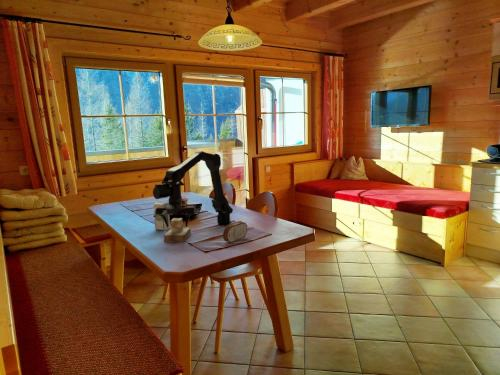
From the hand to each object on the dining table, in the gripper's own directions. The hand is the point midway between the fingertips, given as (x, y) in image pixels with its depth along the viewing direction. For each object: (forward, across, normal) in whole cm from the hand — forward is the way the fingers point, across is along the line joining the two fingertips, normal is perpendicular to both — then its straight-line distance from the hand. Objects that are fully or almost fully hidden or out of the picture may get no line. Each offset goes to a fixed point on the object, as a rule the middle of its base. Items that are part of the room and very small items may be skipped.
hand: (177, 226), depth 167 cm
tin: (+6, +29, -4) cm, 30 cm away
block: (+2, 0, 0) cm, 2 cm away
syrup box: (+6, -12, +15) cm, 20 cm away
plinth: (+6, 0, 0) cm, 6 cm away
